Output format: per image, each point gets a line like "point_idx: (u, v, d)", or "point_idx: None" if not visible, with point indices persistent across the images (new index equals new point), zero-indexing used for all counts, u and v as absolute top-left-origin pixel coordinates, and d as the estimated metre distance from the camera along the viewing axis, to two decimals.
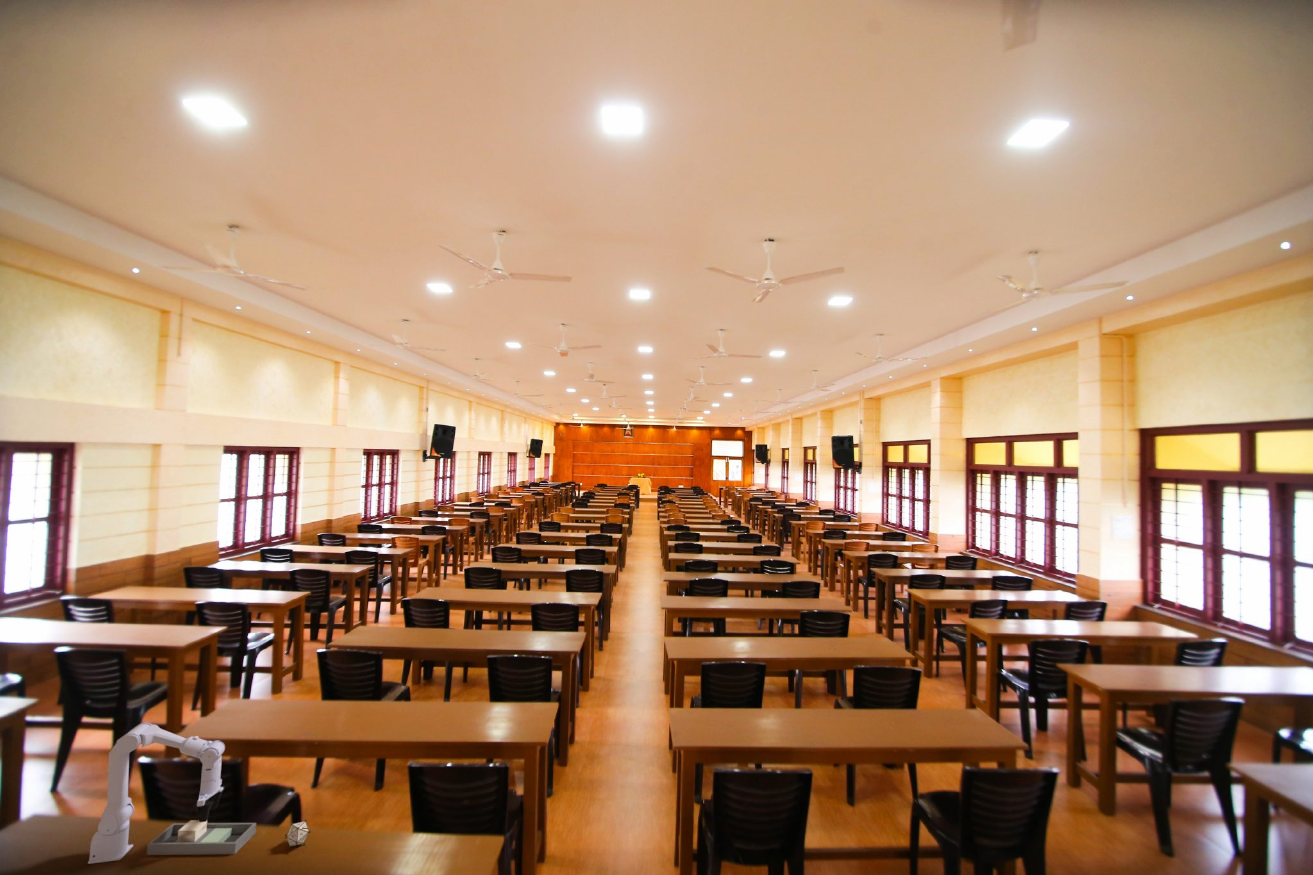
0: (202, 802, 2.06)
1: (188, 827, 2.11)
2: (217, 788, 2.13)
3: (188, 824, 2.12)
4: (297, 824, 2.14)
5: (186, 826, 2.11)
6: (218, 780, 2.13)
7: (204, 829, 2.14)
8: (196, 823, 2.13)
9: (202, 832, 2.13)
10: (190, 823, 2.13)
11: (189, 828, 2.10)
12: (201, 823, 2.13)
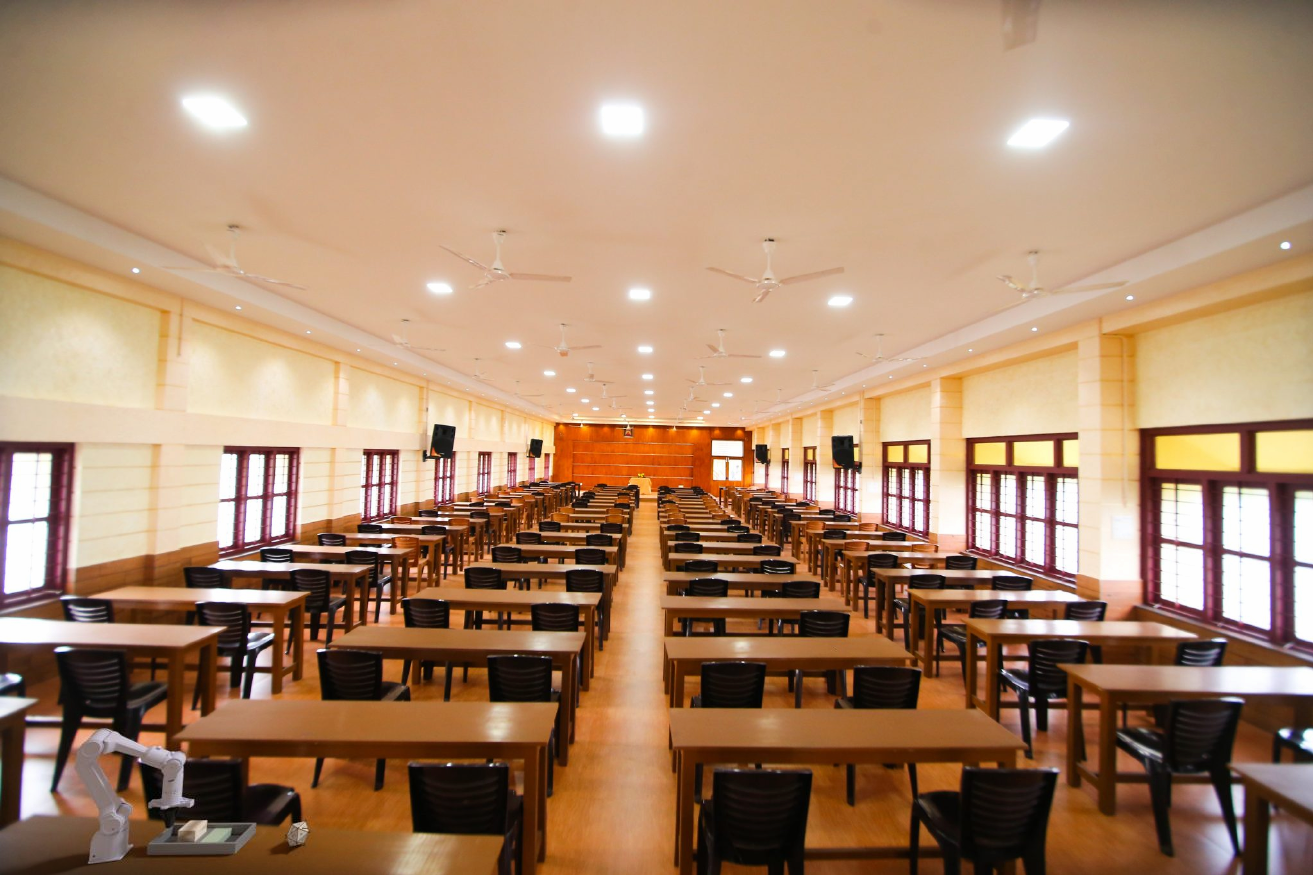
0: None
1: (188, 827, 2.11)
2: (163, 803, 2.09)
3: (188, 824, 2.12)
4: (297, 824, 2.14)
5: (186, 826, 2.11)
6: (164, 795, 2.09)
7: (204, 829, 2.14)
8: (196, 823, 2.13)
9: (202, 832, 2.13)
10: (190, 823, 2.13)
11: (189, 828, 2.10)
12: (201, 823, 2.13)
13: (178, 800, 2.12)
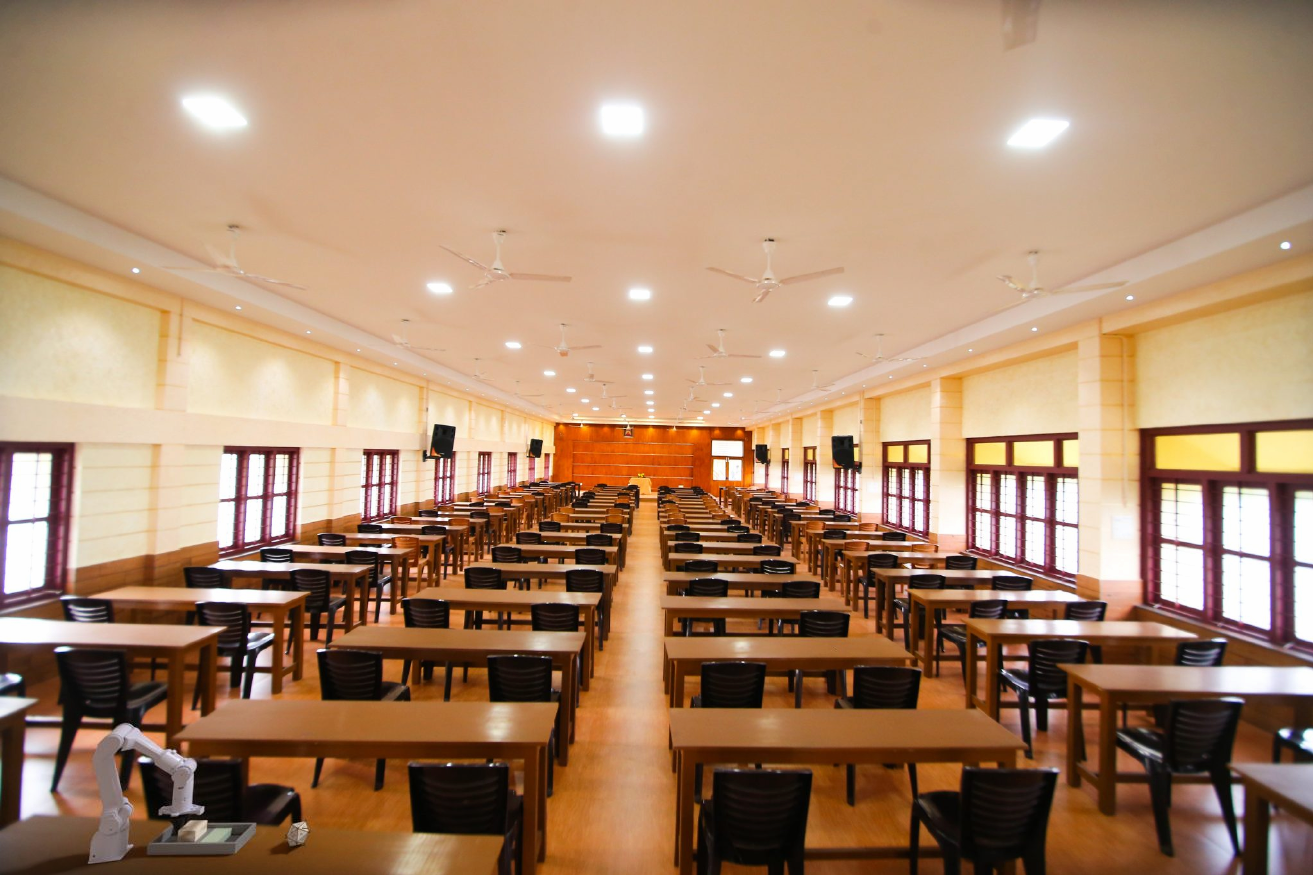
0: None
1: (188, 827, 2.11)
2: (173, 810, 2.09)
3: (188, 824, 2.12)
4: (297, 824, 2.14)
5: (186, 826, 2.11)
6: (174, 803, 2.09)
7: (204, 829, 2.14)
8: (196, 823, 2.13)
9: (202, 832, 2.13)
10: (190, 823, 2.13)
11: (189, 828, 2.10)
12: (201, 823, 2.13)
13: (188, 807, 2.12)
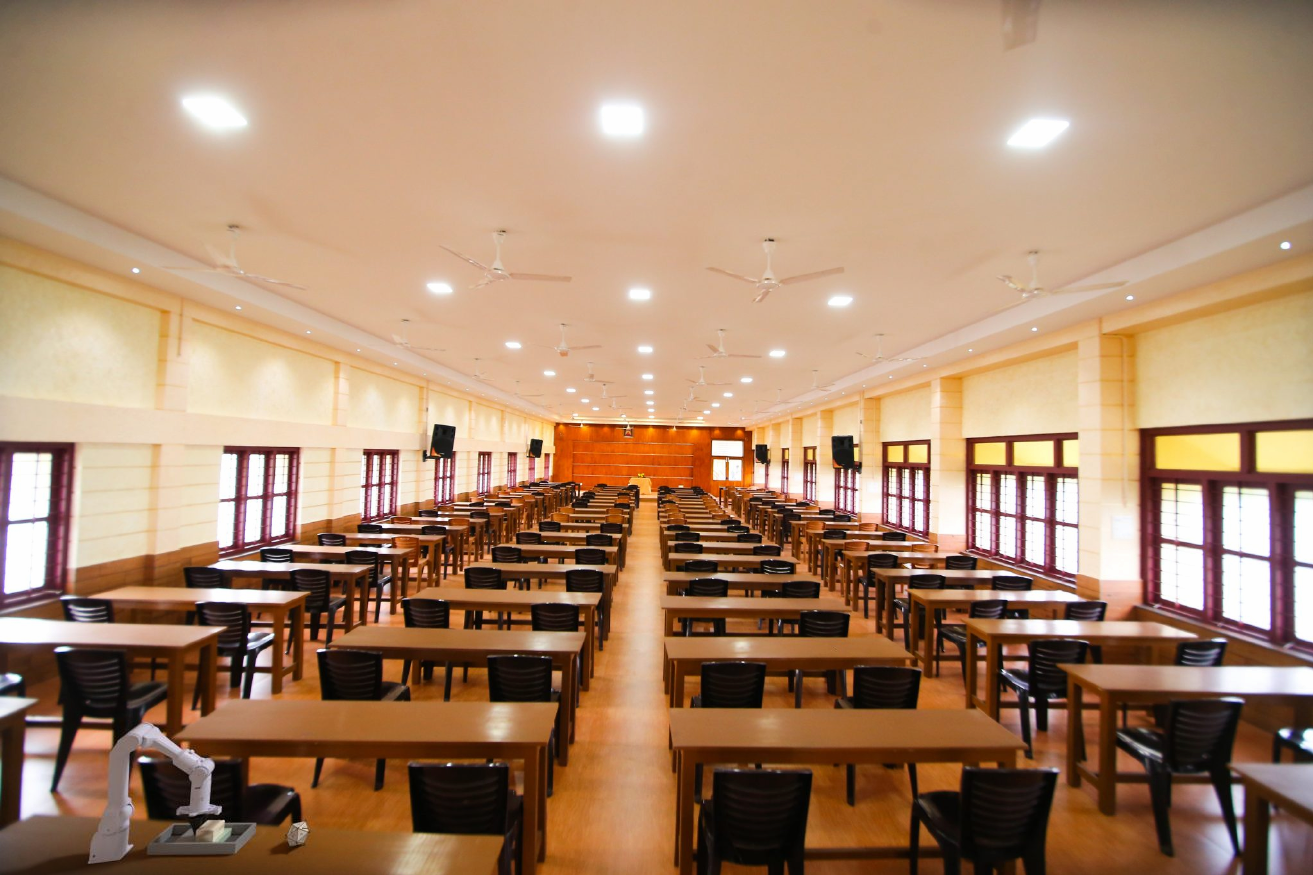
0: None
1: (206, 827, 2.11)
2: (191, 810, 2.10)
3: (206, 824, 2.13)
4: (297, 824, 2.14)
5: (204, 826, 2.12)
6: (192, 803, 2.10)
7: (221, 829, 2.14)
8: (214, 822, 2.14)
9: (220, 832, 2.13)
10: (208, 823, 2.14)
11: (207, 828, 2.11)
12: (219, 823, 2.14)
13: (206, 807, 2.12)
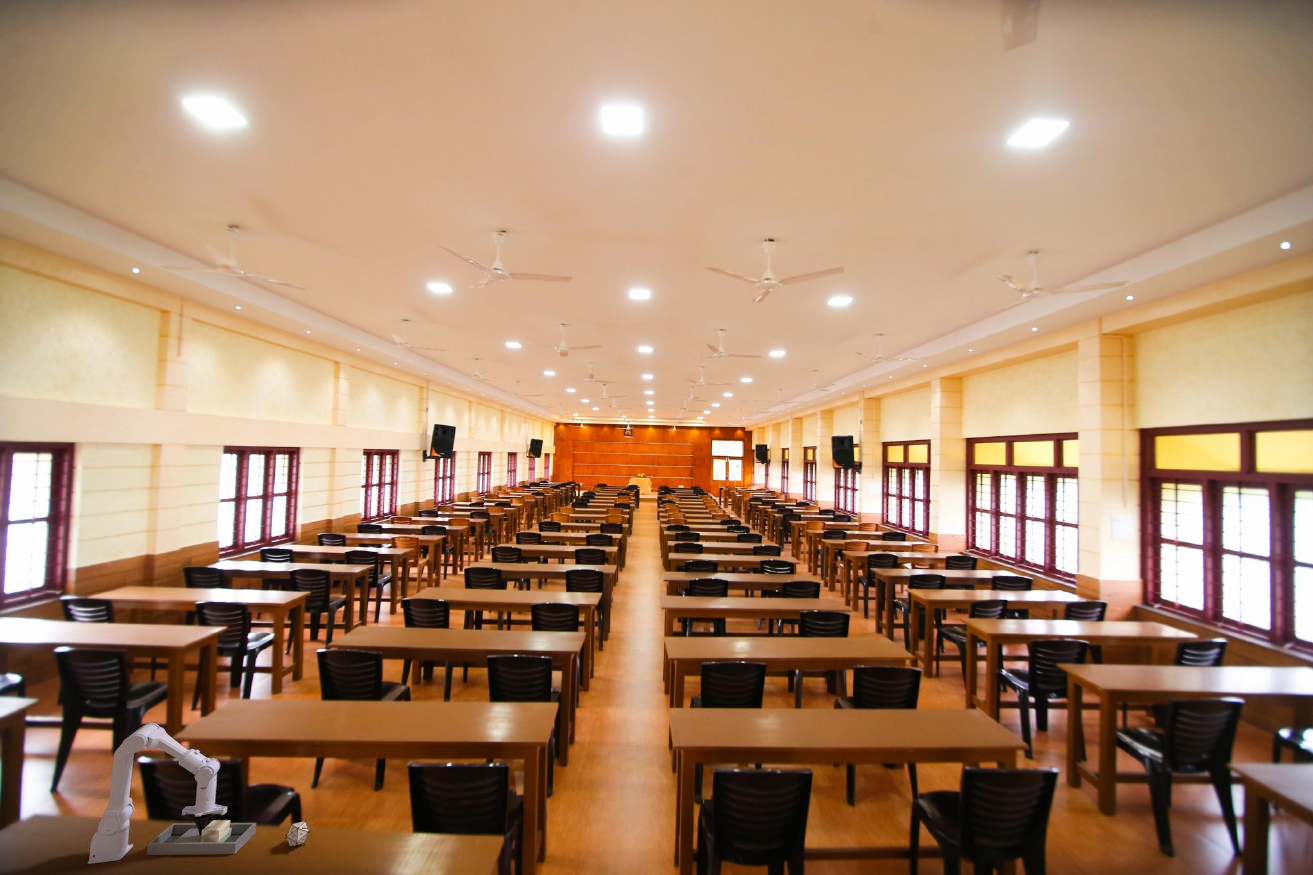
0: None
1: (211, 827, 2.11)
2: (197, 810, 2.10)
3: (212, 824, 2.13)
4: (297, 824, 2.14)
5: (209, 826, 2.12)
6: (198, 803, 2.10)
7: (227, 829, 2.14)
8: (219, 822, 2.14)
9: (225, 832, 2.14)
10: (213, 823, 2.14)
11: (213, 828, 2.11)
12: (224, 823, 2.14)
13: (211, 807, 2.12)
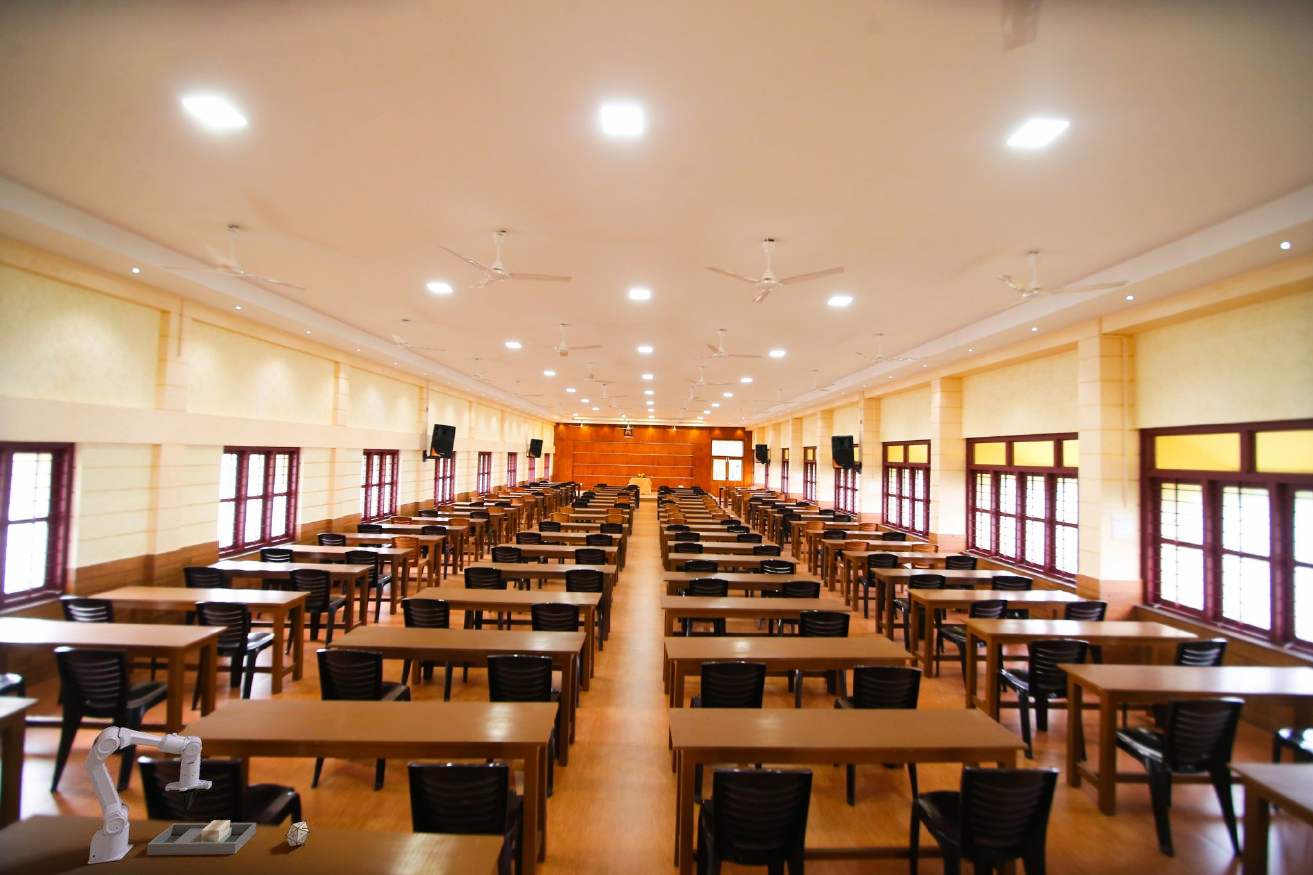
0: None
1: (211, 827, 2.11)
2: (181, 785, 2.15)
3: (212, 824, 2.13)
4: (297, 824, 2.14)
5: (209, 826, 2.12)
6: (183, 778, 2.15)
7: (227, 829, 2.14)
8: (219, 822, 2.14)
9: (225, 832, 2.14)
10: (213, 823, 2.14)
11: (213, 828, 2.11)
12: (224, 823, 2.14)
13: (196, 782, 2.18)
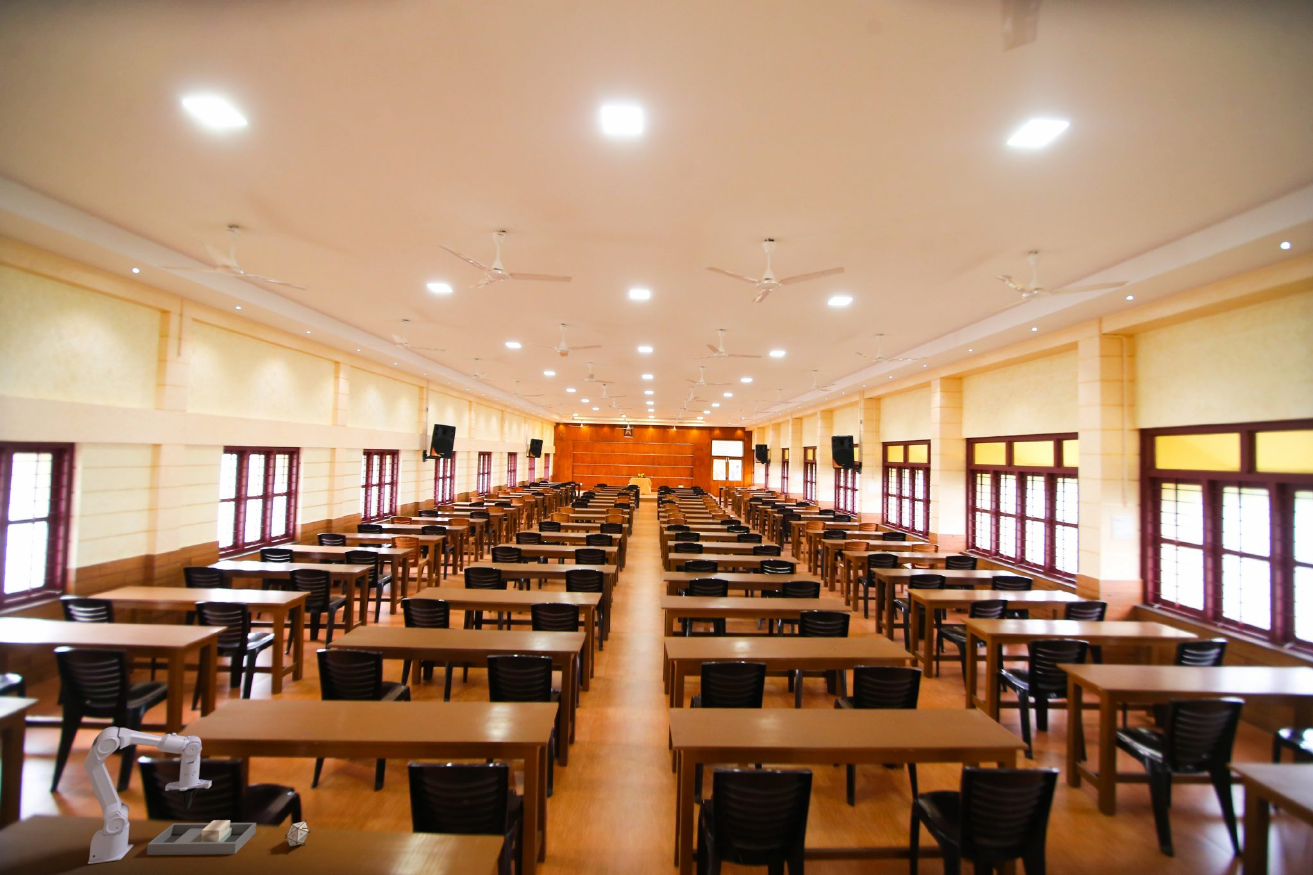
0: None
1: (211, 827, 2.11)
2: (181, 785, 2.15)
3: (212, 824, 2.13)
4: (297, 824, 2.14)
5: (209, 826, 2.12)
6: (183, 778, 2.15)
7: (227, 829, 2.14)
8: (219, 822, 2.14)
9: (225, 832, 2.14)
10: (213, 823, 2.14)
11: (213, 828, 2.11)
12: (224, 823, 2.14)
13: (196, 782, 2.18)
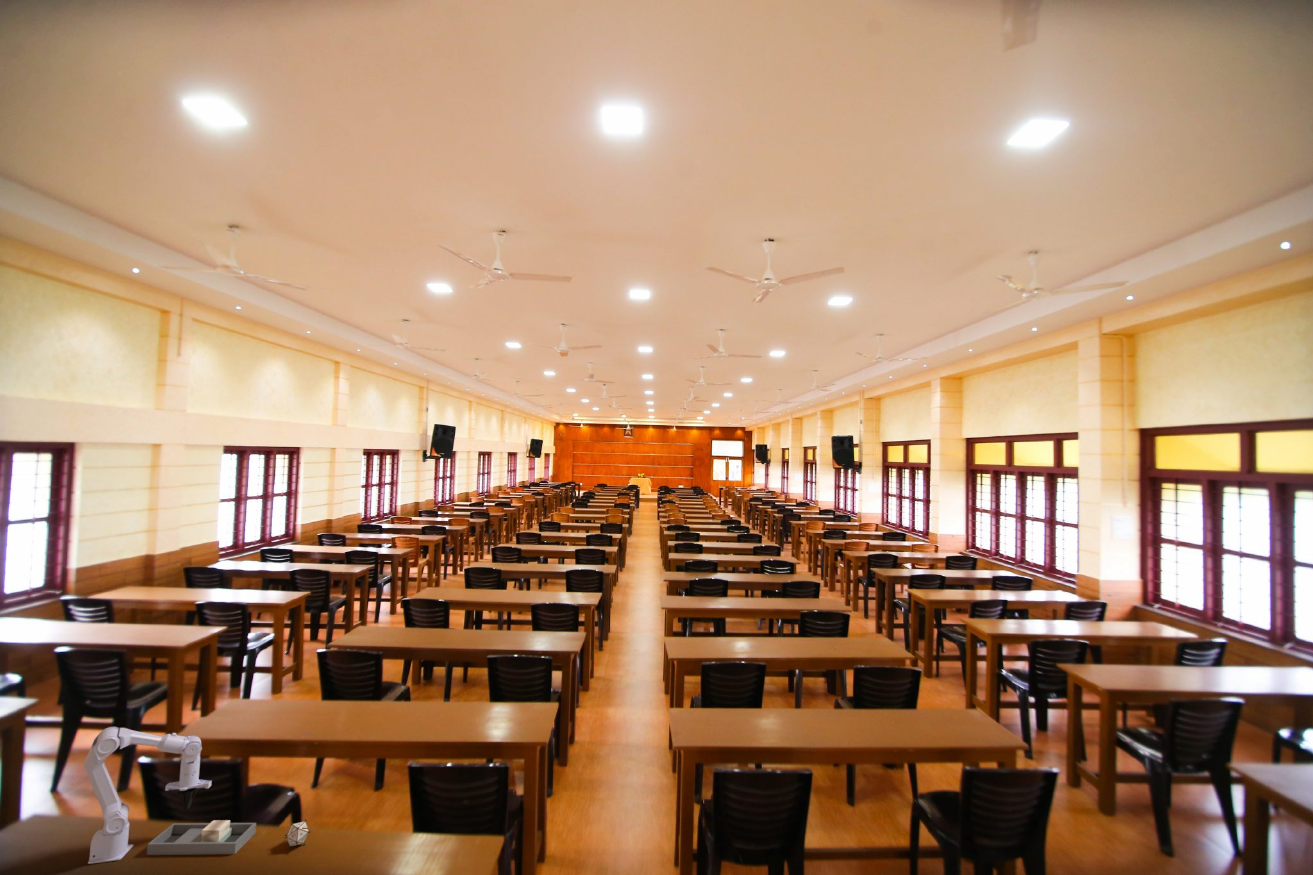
0: None
1: (211, 827, 2.11)
2: (181, 785, 2.15)
3: (212, 824, 2.13)
4: (297, 824, 2.14)
5: (209, 826, 2.12)
6: (183, 778, 2.15)
7: (227, 829, 2.14)
8: (219, 822, 2.14)
9: (225, 832, 2.14)
10: (213, 823, 2.14)
11: (213, 828, 2.11)
12: (224, 823, 2.14)
13: (196, 782, 2.18)
